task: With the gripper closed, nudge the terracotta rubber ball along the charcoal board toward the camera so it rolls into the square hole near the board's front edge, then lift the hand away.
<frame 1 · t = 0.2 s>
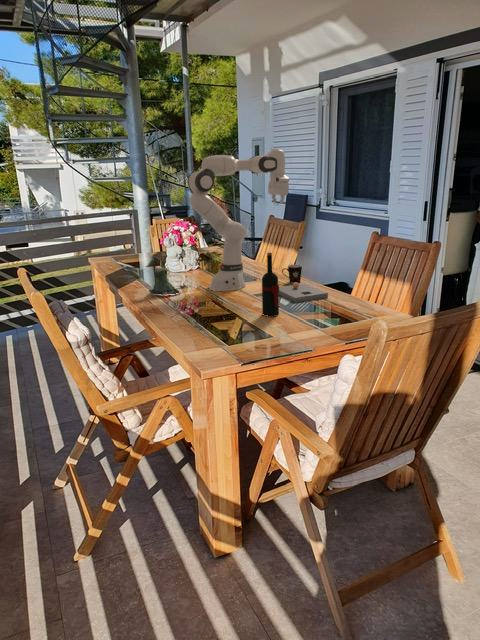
hand: (278, 202, 285), 47 cm above the table, fingers open, 8 cm apart
ball: (295, 285, 269), point 4 cm above the table, touching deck
wine bottle: (272, 315, 232), on the table
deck: (300, 294, 266), on the table
coffee mug: (292, 282, 295), on the table
tree stump: (166, 293, 280), on the table
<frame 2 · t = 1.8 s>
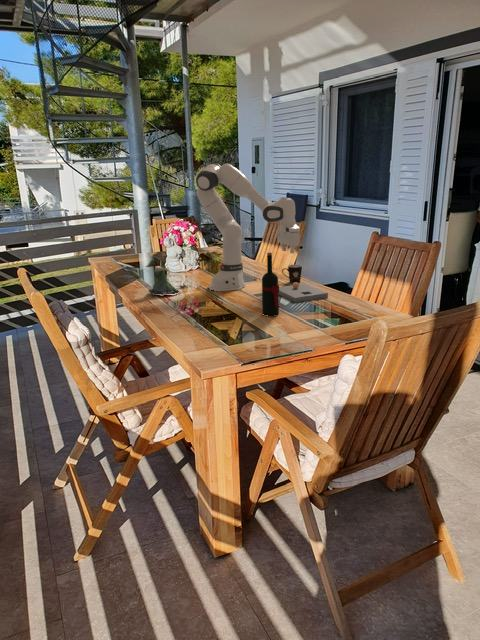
hand: (288, 252, 272), 22 cm above the table, fingers open, 8 cm apart
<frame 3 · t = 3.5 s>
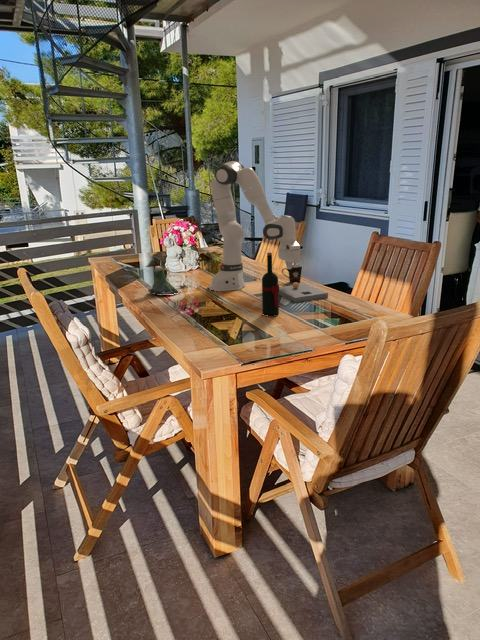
hand: (289, 268, 274), 12 cm above the table, fingers closed
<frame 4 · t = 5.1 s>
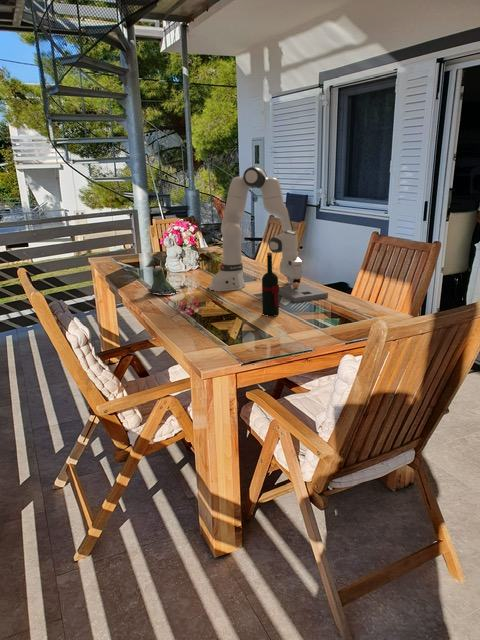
hand: (290, 283, 275), 4 cm above the table, fingers closed
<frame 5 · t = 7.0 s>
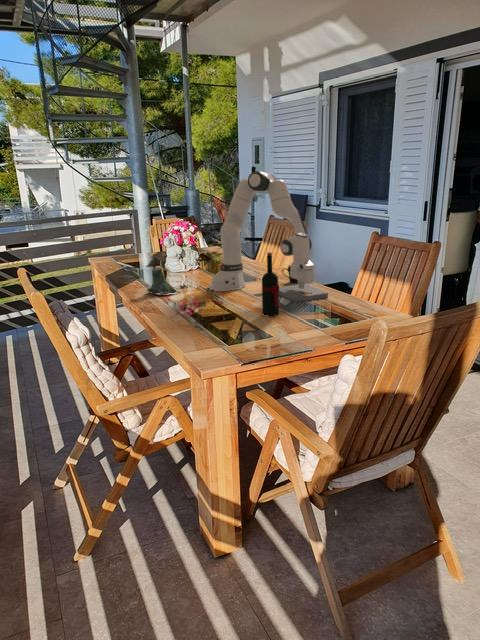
hand: (301, 288, 264), 4 cm above the table, fingers closed
ball: (307, 294, 258), point 2 cm above the table, tilted 83°
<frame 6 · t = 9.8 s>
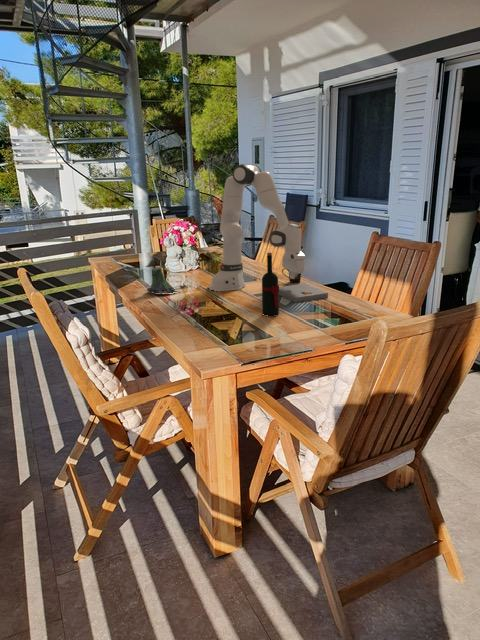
hand: (292, 278, 269), 8 cm above the table, fingers closed
ball: (307, 294, 259), point 2 cm above the table, tilted 75°
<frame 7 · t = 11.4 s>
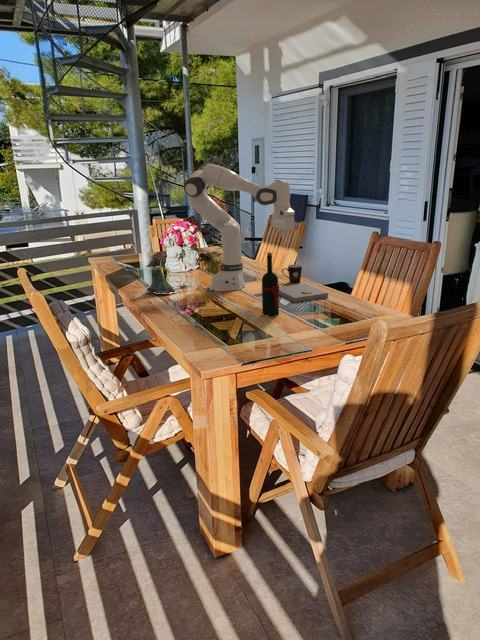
hand: (282, 236, 264), 31 cm above the table, fingers closed
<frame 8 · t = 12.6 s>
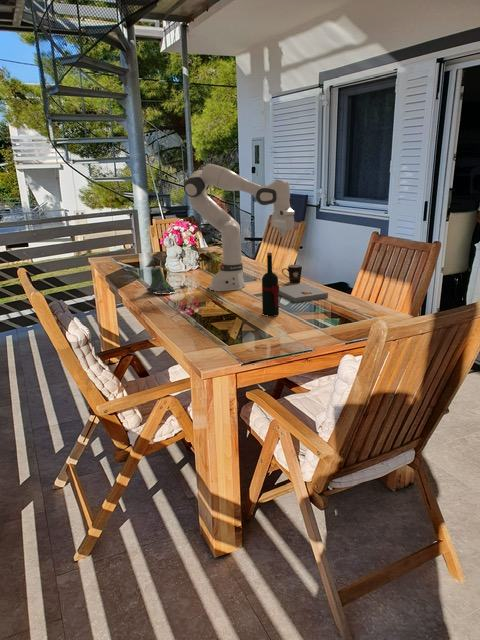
hand: (282, 236, 264), 31 cm above the table, fingers closed
at the end: ball 0.3 cm from the target spot on the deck, point 1.7 cm above the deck's base; ball moved 12.4 cm from its start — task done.
